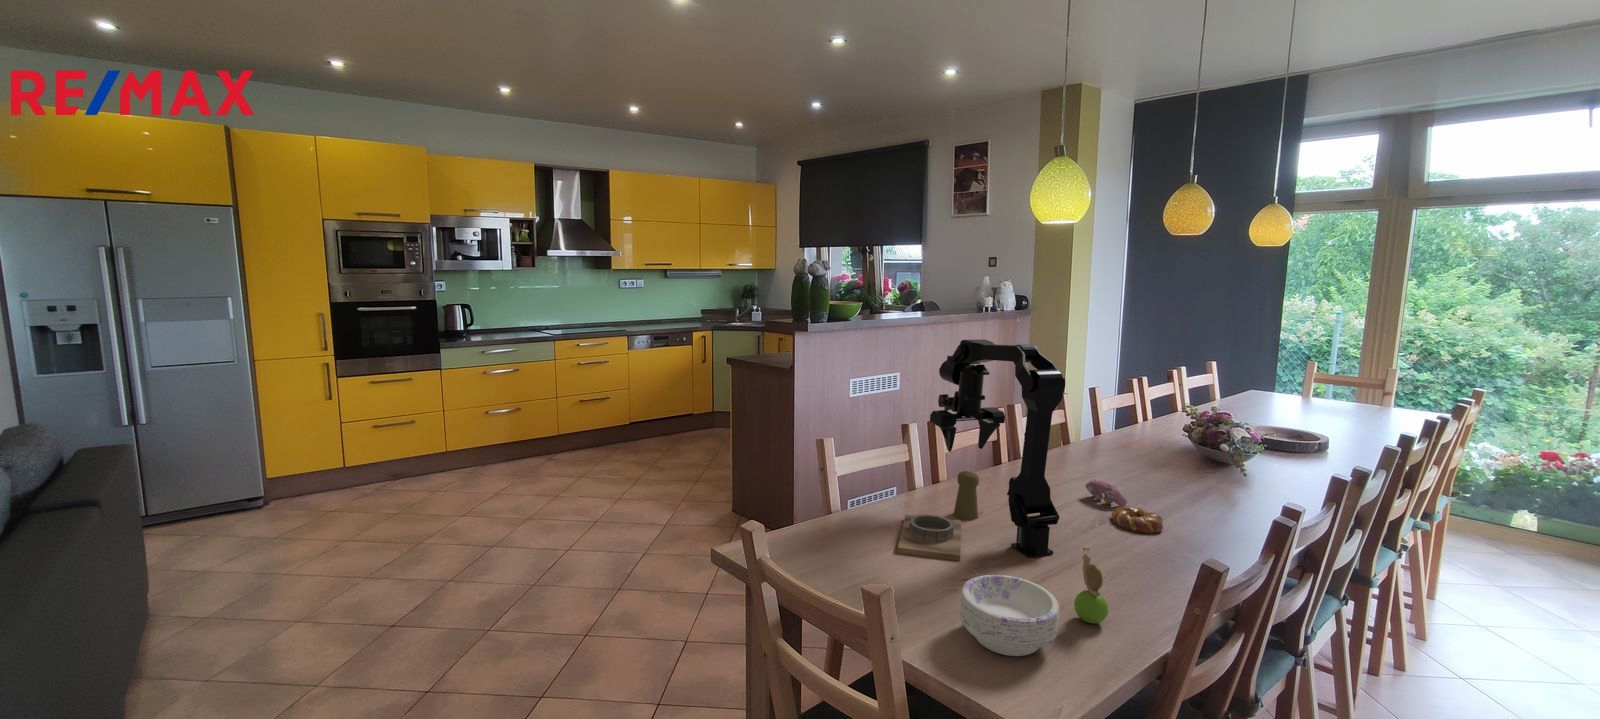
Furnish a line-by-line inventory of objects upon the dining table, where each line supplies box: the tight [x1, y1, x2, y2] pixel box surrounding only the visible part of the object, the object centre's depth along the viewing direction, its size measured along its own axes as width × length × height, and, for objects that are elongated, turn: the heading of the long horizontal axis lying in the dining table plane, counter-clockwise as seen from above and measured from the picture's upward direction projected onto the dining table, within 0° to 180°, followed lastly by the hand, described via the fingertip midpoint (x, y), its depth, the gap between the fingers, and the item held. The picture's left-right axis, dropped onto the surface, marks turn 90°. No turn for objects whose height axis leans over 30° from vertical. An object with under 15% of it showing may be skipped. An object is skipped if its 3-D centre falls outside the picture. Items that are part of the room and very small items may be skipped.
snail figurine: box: [1073, 547, 1109, 625], centre depth 114 cm, size 5×6×12 cm
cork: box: [953, 470, 980, 521], centre depth 163 cm, size 6×6×11 cm
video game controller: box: [1085, 479, 1128, 507], centre depth 175 cm, size 10×5×7 cm, turn 25°
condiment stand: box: [897, 514, 962, 562], centre depth 148 cm, size 20×13×4 cm, turn 166°
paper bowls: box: [959, 574, 1060, 657], centre depth 107 cm, size 15×15×8 cm
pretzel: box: [1111, 505, 1164, 534], centre depth 160 cm, size 12×11×4 cm
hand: (964, 449), depth 166 cm, fingers open, 9 cm apart
